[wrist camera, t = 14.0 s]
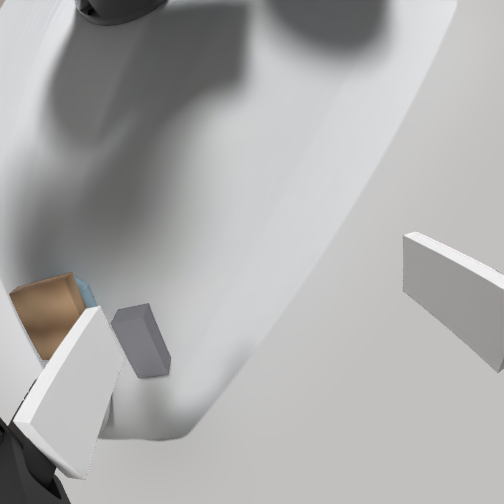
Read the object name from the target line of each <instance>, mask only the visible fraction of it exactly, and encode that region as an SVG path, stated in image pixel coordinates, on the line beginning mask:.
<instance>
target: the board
mask: <svg viewBox="0 0 504 504" xmlns="http://www.w3.org/2000/svg"><path fill="white" fill-rule="evenodd" d="M9 295H10V297H11V300H12V302H13V304H14V306H15V308H16V311H17V313H18V315H19V317H20V319H21V321H22V323H23V325H24V327H25V329H26V331H27V333H28V335H29V337H30V339H31V340H32V342H33V344H34V346H35V348H36V349H37V351H38V353H39V355H40V356H41V358H42V360H50V359H51V357H52V356H53V354H54V353H55V351H56V350H57V349H58V347H59V346H60V344H61V343H62V341H63V340H64V338H65V337H66V336H67V334H68V333H69V331H70V330H71V329H72V327H73V326H74V324H75V323H76V322H77V320H78V319H79V318H80V316H81V315H82V313H83V312H84V311H85V309H87V307H86V305H85V302H84V300H83V298H82V295H81V293H80V290H79V288H78V286H77V283H76V280H75V278H74V275H73V273H72V272H70V273H66V274H63V275H59V276H55V277H52V278H48V279H44V280H41V281H37V282H34V283H30V284H27V285H23V286H20V287H17V288H16V289H15V290H13V291H12V292H11V293H10V294H9Z"/></svg>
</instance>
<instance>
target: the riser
mask: <svg viewBox="0 0 504 504" xmlns="http://www.w3.org/2000/svg"><path fill="white" fill-rule="evenodd" d="M111 325H112V328H113V330H114V332H115V334H116V336H117V338H118V340H119V342H120V344H121V346H122V348H123V350H124V352H125V354H126V356H127V358H128V360H129V362H130V364H131V366H132V368H133V370H134V371H135V373H136V375H137V377H138V378H143V377H151V376H159V375H166V374H168V373H169V367H170V361H171V356H170V354H169V352H168V350H167V347H166V345H165V343H164V340H163V338H162V336H161V333H160V331H159V328H158V326H157V324H156V321H155V319H154V316H153V313H152V311H151V308H150V306H149V303H148V304H143V305H139V306H134V307H129V308H124V309H119V310H118V311H117V313H116V315H115V317H114V318H113V320H112V322H111Z"/></svg>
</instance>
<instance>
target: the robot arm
mask: <svg viewBox="0 0 504 504" xmlns="http://www.w3.org/2000/svg"><path fill="white" fill-rule="evenodd" d="M164 1H165V0H75V4H76V7H77V9H78V11H79V12H80V13H81V14H82V15H83V16H84V17H85V18H86V19H87V20H88V21H90V22H92V23H95V24H99V25H117V24H122V23H126V22H129V21H132V20H135V19H138V18H140V17H142V16H144V15H146V14H148V13H149V12H151V11H153V10H154V9H156V8H157V7H158V6H160V5H161V4H162V3H163V2H164ZM403 257H404V258H403V292H405V293H406V294H407V295H408V296H410V297H411V298H412V299H413V300H415V301H416V302H417V303H418V304H420V305H421V306H422V307H423V308H424V309H426V310H427V311H428V312H429V313H430V314H432V315H433V316H434V317H435V318H437V319H438V320H439V321H440V322H441V323H442V324H444V325H445V326H446V327H447V328H448V329H449V330H450V331H452V332H453V333H454V334H455V335H456V336H457V337H459V338H460V339H461V340H462V341H463V342H464V343H465V344H467V345H468V346H469V347H470V348H471V349H472V350H473V351H474V352H475V353H477V354H478V355H479V356H480V357H481V358H482V359H483V360H484V361H485V362H486V363H487V364H489V365H490V366H491V367H492V368H493V369H494V370H495V371H496V372H497V373H498V372H500V371H501V370H503V369H504V275H503V274H502V273H500V272H498V271H496V270H494V269H492V268H490V267H488V266H486V265H484V264H482V263H480V262H478V261H476V260H475V259H473V258H471V257H468V256H467V255H464V254H462V253H461V252H459V251H457V250H454V249H452V248H450V247H448V246H446V245H444V244H442V243H440V242H437V241H436V240H433V239H431V238H429V237H427V236H425V235H422V234H420V233H418V232H413V233H409V234H405V235H403ZM124 359H125V357H124V355H123V353H122V351H121V349H120V347H119V345H118V343H117V341H116V339H115V337H114V335H113V333H112V331H111V328H110V326H109V324H108V322H107V320H106V317H105V315H104V313H103V311H102V308H101V306H97V307H92V308H87V309H85V311H84V312H83V313H82V315H81V316H80V318H79V319H78V320H77V322H76V323H75V324H74V326H73V327H72V329H71V330H70V331H69V333H68V334H67V336H66V337H65V338H64V340H63V341H62V343H61V344H60V346H59V347H58V349H57V350H56V351H55V353H54V354H53V356H52V357H51V359H50V360H49V362H48V363H47V365H46V367H45V368H44V370H43V371H42V373H41V374H40V376H39V377H38V378H37V379H36V380H35V381H34V383H33V384H32V386H31V388H30V389H29V393H27V394H26V396H25V397H24V400H23V401H22V403H21V404H20V406H19V408H18V410H17V411H16V413H15V415H14V416H13V418H12V420H11V422H10V424H9V425H8V426H7V425H6V424H5V423H4V422H3V420H2V419H1V418H0V504H71V503H70V501H69V499H68V497H67V495H66V493H65V490H64V488H63V486H62V484H61V481H60V480H59V478H58V477H57V476H56V475H55V474H54V473H55V470H56V467H57V468H58V469H59V470H60V471H61V472H62V473H63V474H64V475H65V476H67V477H69V478H75V479H82V480H85V479H86V476H87V472H88V468H89V465H90V461H91V458H92V454H93V451H94V447H95V444H96V441H97V437H98V434H99V431H100V428H101V425H102V422H103V419H104V415H105V412H106V409H107V406H108V404H109V401H110V398H111V395H112V392H113V389H114V386H115V384H116V381H117V378H118V375H119V373H120V370H121V367H122V365H123V362H124Z"/></svg>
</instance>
